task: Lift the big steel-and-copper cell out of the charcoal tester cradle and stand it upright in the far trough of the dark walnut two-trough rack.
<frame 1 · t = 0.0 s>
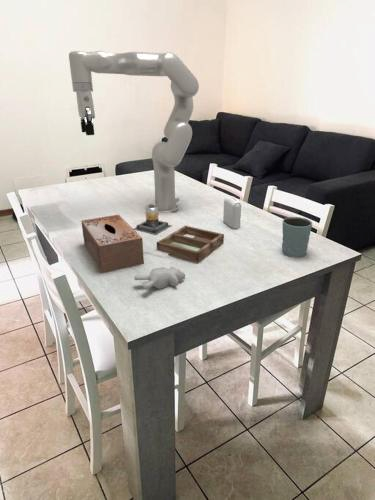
hand: (88, 133, 148), 37 cm above the table, tool pointing down, fingers open, 9 cm apart
trough rack: (191, 247, 137), on the table
bunny figurine: (161, 285, 113), on the table
photo printer: (231, 225, 158), on the table
cell: (152, 227, 153), point 1 cm above the table, touching tester cradle
drinking glass: (293, 252, 133), on the table
tissue box cover: (112, 254, 133), on the table
tester cradle: (152, 229, 153), on the table
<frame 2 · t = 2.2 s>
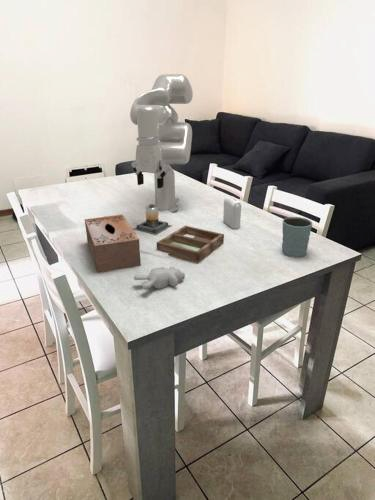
hand: (150, 186, 145), 19 cm above the table, tool pointing down, fingers open, 9 cm apart
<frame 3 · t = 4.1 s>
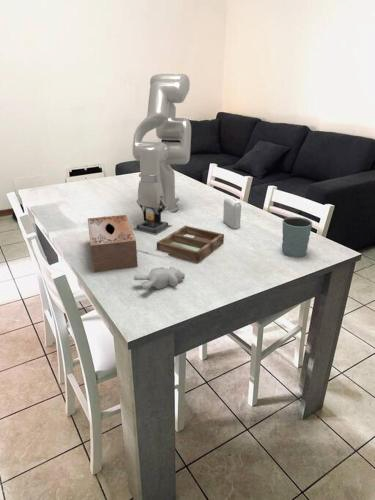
hand: (152, 220, 152), 4 cm above the table, tool pointing down, fingers closed on cell, 5 cm apart
cell: (152, 227, 153), point 1 cm above the table, touching gripper, tester cradle
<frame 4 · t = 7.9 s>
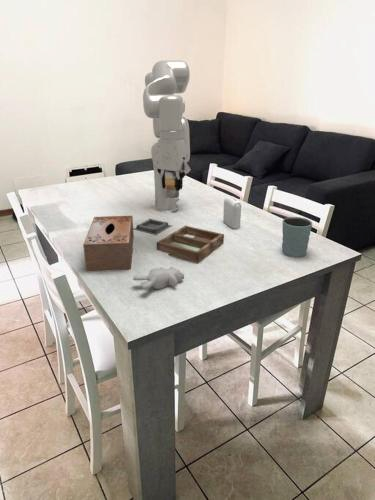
hand: (172, 188, 130), 22 cm above the table, tool pointing down, fingers closed on cell, 5 cm apart
cell: (172, 196, 131), point 19 cm above the table, touching gripper
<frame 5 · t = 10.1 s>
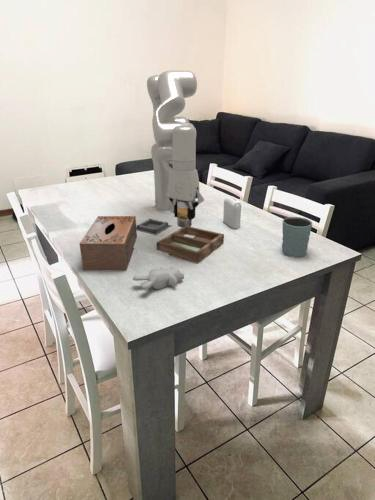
hand: (184, 217, 127), 14 cm above the table, tool pointing down, fingers closed on cell, 5 cm apart
cell: (184, 224, 129), point 11 cm above the table, touching gripper
when the fingers open (6 cm above the table, at t = 11.9 s): cell drops 2 cm, resting on trough rack.
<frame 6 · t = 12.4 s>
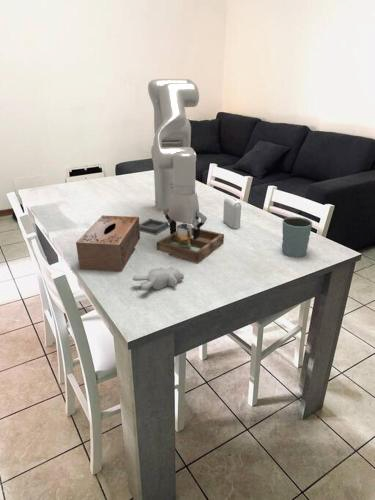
hand: (184, 235, 131), 7 cm above the table, tool pointing down, fingers open, 9 cm apart
cell: (184, 249, 133), point 1 cm above the table, touching trough rack
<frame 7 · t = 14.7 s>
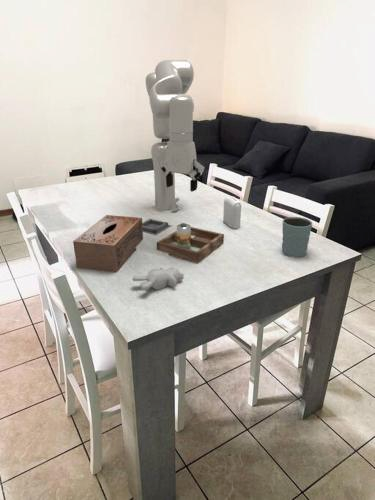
hand: (181, 188, 126), 23 cm above the table, tool pointing down, fingers open, 9 cm apart
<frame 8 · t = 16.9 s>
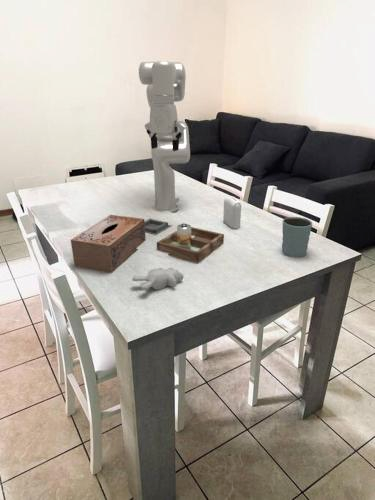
hand: (164, 149, 138), 33 cm above the table, tool pointing down, fingers open, 9 cm apart
at the end: cell inside the target area on the trough rack (0.2 cm from its centre), point 1.1 cm above the trough rack's base; cell tilted 2°; the gripper is holding nothing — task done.
